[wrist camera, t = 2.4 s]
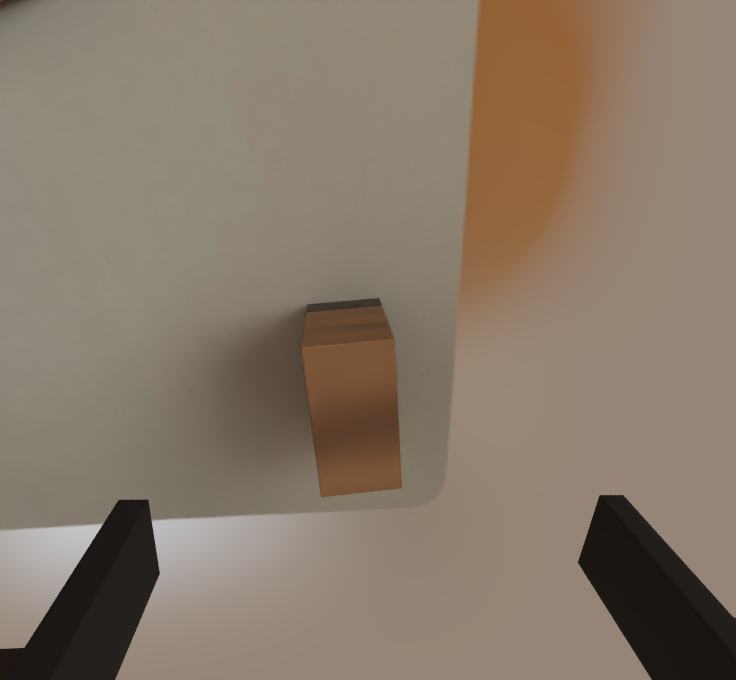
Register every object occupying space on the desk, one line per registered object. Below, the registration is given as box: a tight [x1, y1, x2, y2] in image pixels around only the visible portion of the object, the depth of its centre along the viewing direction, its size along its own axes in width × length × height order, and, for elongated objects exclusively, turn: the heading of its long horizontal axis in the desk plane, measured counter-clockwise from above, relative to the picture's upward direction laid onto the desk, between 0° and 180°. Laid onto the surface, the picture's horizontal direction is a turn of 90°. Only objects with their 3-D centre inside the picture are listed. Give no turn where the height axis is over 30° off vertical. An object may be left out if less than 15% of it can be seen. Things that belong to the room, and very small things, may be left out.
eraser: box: [301, 298, 402, 497], centre depth 25 cm, size 9×4×7 cm, turn 4°
